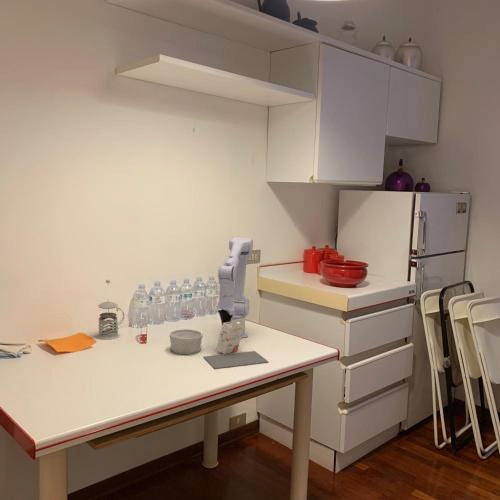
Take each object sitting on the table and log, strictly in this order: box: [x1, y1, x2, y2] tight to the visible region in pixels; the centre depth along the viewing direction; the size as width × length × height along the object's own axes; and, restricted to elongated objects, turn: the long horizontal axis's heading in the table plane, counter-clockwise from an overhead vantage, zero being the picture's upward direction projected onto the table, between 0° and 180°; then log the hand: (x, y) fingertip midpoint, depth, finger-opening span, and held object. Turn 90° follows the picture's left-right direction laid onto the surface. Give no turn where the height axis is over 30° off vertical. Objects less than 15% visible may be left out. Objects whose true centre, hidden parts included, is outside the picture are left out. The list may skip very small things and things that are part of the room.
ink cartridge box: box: [216, 317, 246, 354], centre depth 203 cm, size 9×5×15 cm, turn 143°
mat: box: [203, 350, 270, 370], centre depth 195 cm, size 13×22×1 cm, turn 113°
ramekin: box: [169, 328, 203, 355], centre depth 204 cm, size 13×13×7 cm
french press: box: [95, 279, 125, 341], centre depth 217 cm, size 10×12×25 cm
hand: (225, 327), depth 205 cm, fingers closed
